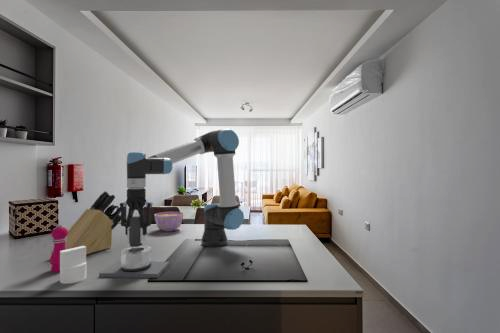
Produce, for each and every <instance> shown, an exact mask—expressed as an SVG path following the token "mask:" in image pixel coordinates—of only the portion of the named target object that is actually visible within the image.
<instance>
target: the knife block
mask: <svg viewBox="0 0 500 333" xmlns="http://www.w3.org/2000/svg"><path fill="white" fill-rule="evenodd" d="M115 198H116V196H115V195H114V194H110V193H109V192H108V191H107V190H105V191H104V192H102V193H101V194H100V195H99V196H98V197H97V199H96V200H95V201H94V203H93V204H92V205H91V206H90V207H89V208H86V209H85V210H84V211H83V213H82V214H81V215H80V216H79V218H78V219H77V220H76V221H75V222H74V224H72V226H71V227H70V229H68V235H67V236H66V238H67V239H66V240H67V241H66V242H65V246H66V250H67V249H71V248H75V247H80V246H86V256H87V255H90V254H92V253H96V252H100V251H103V250H108V248H109V249H110V248H112V239H113V238H112V235H113V234H112V233H113V230H114V229H115V228H116V227H117V226H118V224H120V223H121V207H120V206H118V205H114V204H112V202H114V200H115ZM115 209H116V210H115ZM53 250H54V248H53V249H52V250H51V252H50V254H51V255H52V253H53Z"/></svg>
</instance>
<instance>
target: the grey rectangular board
mask: <svg viewBox="0 0 500 333" xmlns="http://www.w3.org/2000/svg"><path fill="white" fill-rule="evenodd" d="M170 262H171V261H153V260H152V263H151V267H150V268H148V269H146V270H143V271H139V272H124V271H122V270H121V260H118V261H116V262H115V263H113V264H111V265H110V266H108V267H107V268H105V269H103V270H102V271H101V272H99V273H98V274H99V276H98V277H99V278H141V279H142V278H145V279H147V278H148V279H149V278H150V279H151V278H152V279H156V278H159V277H160V276H161V275H162V274H163V273H164V272H163V271H166V270H167V268H168V267H170ZM162 272H163V273H162Z"/></svg>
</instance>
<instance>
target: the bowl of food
mask: <svg viewBox="0 0 500 333" xmlns="http://www.w3.org/2000/svg"><path fill="white" fill-rule="evenodd" d="M153 217H154V220H155V224H156V227H157V228H158V229H159V230H161V231H162V232H167V233H169V232H174V231H176V230H177V229H178V228H180V227H181V225H182V221H183V217H184V212H181V211H163V212H158V213H154V216H153Z"/></svg>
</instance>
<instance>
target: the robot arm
mask: <svg viewBox="0 0 500 333" xmlns="http://www.w3.org/2000/svg"><path fill="white" fill-rule="evenodd" d="M239 140H240V139H239V136H238V134H237V133H236V132H235V131H234V130H232V129H230V128H223V129H217V130H211V131H210V132H206V133H204V134H202V135H200V136H198V137H194V139H193V141H192V140H191V141H190V142H187V143H185V144H181V145H178V146H176V147H173V148H170V149H168V150H167V149H166V150H165V151H162V152H158V153H157V154H154V155H151V156H148V157H147V155H146V152H141V151H140V152H139V151H135V152H134V151H133V152H131V151H130V152H128V153H127V154H126V155H127V156H126V188H127V189H126V200H125V201H124V202H120V203H119V207H121V212H120V215H121V221H120V226H121V227H124V228H125V229H124V230H125V235H126V236H127V238H126V239H127V244H130V217H134V212H135V211H137V213H138V216H140V220H141V224H142V228H140V243H142V244H143V243H145V241H146V235H147V234H148V227H150V226H151V225H152V208H153V205H154V204H153V202H149V201H147V199H146V196H147V195H146V192H147V191H146V183H147V182H146V180H147V179H146V178H147V177H146V175H169V174H171V172H172V171H173V164H177V163H178V162H182V161H184V160H186V159H188V158H191V157H194V156H196V155H204V154H207V153H213V156H214V157H215V158H216V161H217V162H216V163H217V175H218V191H219V203H210V204H209V203H207V204H205V206H204V208H203V212H204V214H203V215H204V218H203V220H204V222H203V223H204V225H203V226H204V227H203V228H204V229H203V230H204V231H203V233H202V236H201V241H200V242H201V243H202V244H203V246H204V247H220V246H221V247H222V246H225V245H227V244H228V237H227V232H226V231H225V230H228V231H229V230H230V231H233V230H234V231H235V230H238V229H239V228H240V227H241V225H242V224H243V222H244V220H245V218H244V217H245V214H244V212H243V210H242V209H241V208H240V205H239V204H240V203H239V202H238V201H237V200H236V186H235V170H234V169H235V168H234V157H235V155H236V150H237V148H238V147H239V144H240V141H239ZM127 206H128V212H127ZM144 207H145V208H146V211H145V209H144ZM145 212H146V215H145ZM201 243H200V244H201ZM202 244H201V245H202Z"/></svg>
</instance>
